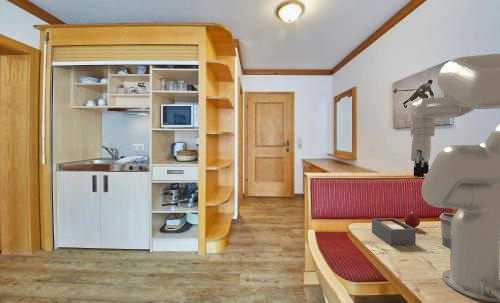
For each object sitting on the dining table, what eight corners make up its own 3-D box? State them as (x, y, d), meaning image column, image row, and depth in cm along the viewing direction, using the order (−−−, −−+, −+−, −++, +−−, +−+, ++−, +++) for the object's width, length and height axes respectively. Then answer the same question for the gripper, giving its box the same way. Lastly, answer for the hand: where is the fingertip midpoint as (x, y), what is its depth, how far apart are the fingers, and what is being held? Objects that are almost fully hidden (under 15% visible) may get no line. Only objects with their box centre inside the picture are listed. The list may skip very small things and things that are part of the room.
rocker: (405, 231, 88) (405, 228, 88) (393, 232, 88) (393, 228, 88) (391, 224, 96) (391, 221, 96) (380, 224, 96) (380, 221, 96)
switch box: (415, 244, 86) (415, 229, 86) (390, 245, 86) (390, 230, 86) (393, 231, 99) (393, 218, 98) (371, 232, 98) (371, 218, 98)
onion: (414, 232, 98) (415, 214, 98) (401, 227, 103) (401, 210, 103) (422, 229, 100) (422, 212, 100) (408, 225, 106) (409, 209, 105)
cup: (467, 251, 81) (468, 219, 80) (446, 249, 82) (447, 218, 81) (453, 242, 88) (454, 212, 87) (434, 241, 89) (435, 212, 88)
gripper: (415, 133, 96) (414, 171, 97) (405, 133, 84) (404, 177, 85) (437, 132, 90) (436, 173, 91) (430, 132, 79) (429, 179, 80)
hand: (421, 175), depth 88 cm, fingers open, 9 cm apart
